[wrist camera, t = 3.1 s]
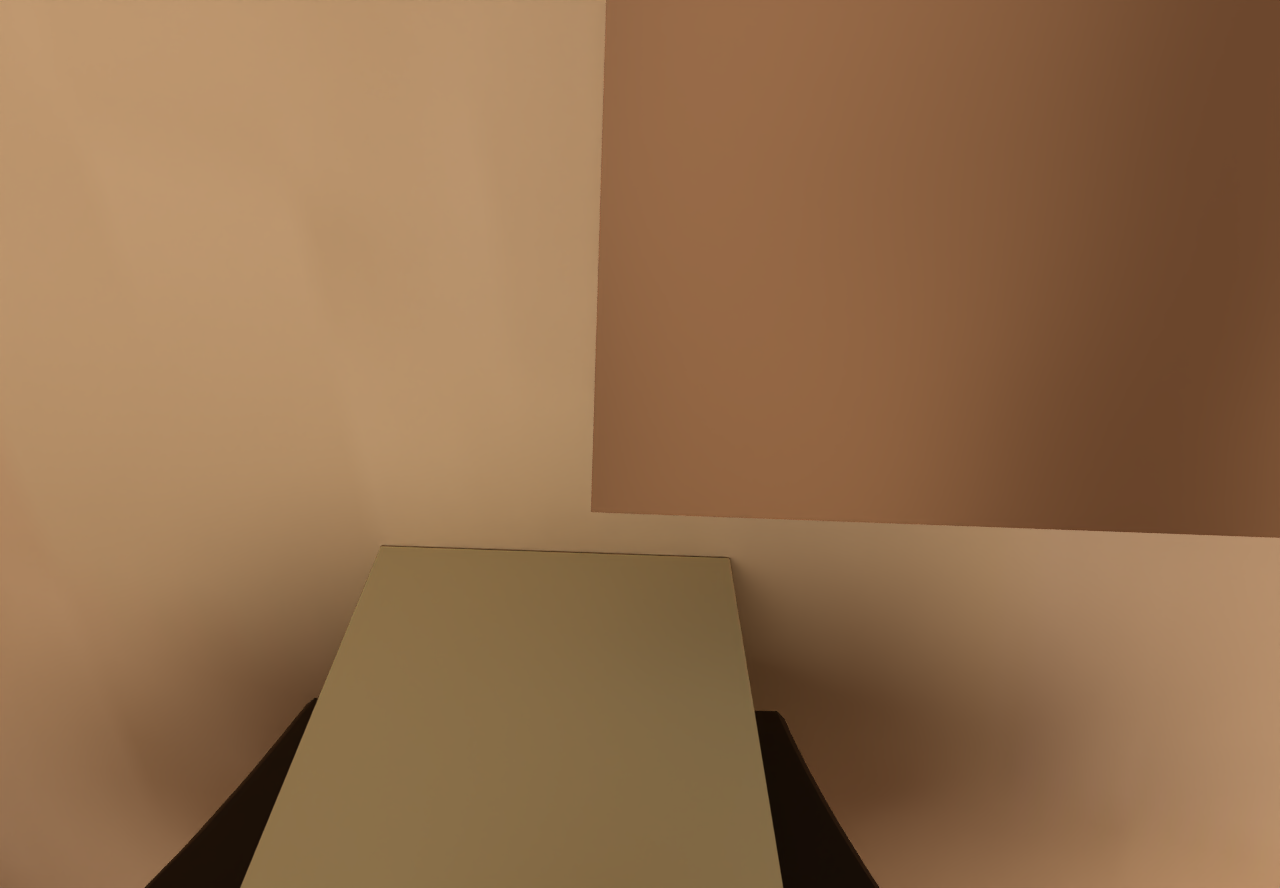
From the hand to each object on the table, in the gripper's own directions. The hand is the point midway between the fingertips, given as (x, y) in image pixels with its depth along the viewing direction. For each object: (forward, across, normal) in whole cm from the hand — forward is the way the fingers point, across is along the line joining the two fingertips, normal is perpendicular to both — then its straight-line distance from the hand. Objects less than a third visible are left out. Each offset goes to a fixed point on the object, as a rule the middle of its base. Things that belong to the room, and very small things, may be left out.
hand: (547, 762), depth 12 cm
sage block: (+1, 0, 0) cm, 1 cm away
